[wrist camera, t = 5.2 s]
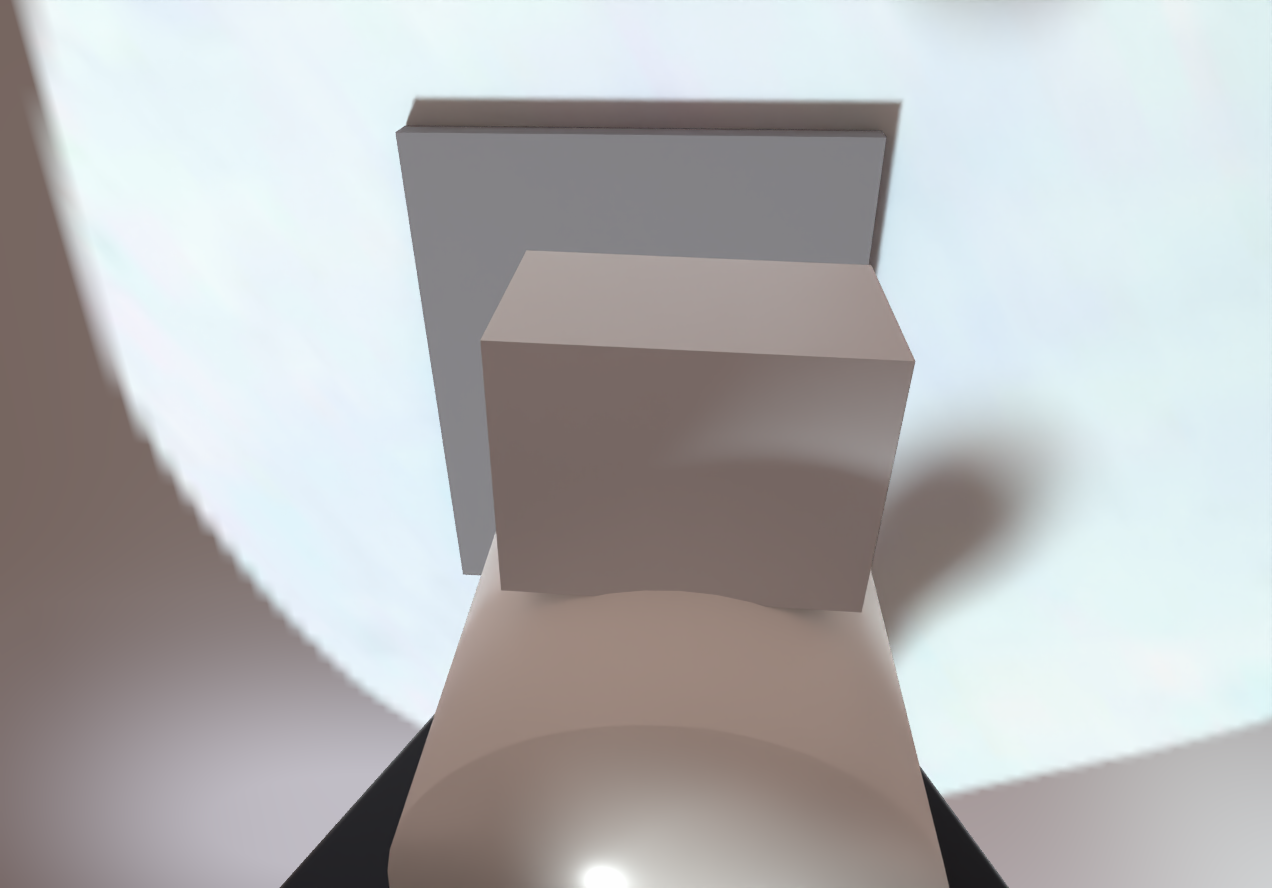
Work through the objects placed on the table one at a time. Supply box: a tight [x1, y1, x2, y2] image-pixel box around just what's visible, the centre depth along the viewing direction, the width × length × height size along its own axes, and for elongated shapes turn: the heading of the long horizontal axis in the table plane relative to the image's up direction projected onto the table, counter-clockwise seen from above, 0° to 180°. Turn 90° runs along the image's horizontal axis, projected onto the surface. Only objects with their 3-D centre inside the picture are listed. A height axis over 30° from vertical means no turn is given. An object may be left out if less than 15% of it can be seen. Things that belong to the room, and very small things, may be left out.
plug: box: [387, 250, 949, 888], centre depth 8 cm, size 9×4×4 cm, turn 179°
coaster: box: [396, 126, 886, 575], centre depth 21 cm, size 10×12×1 cm
